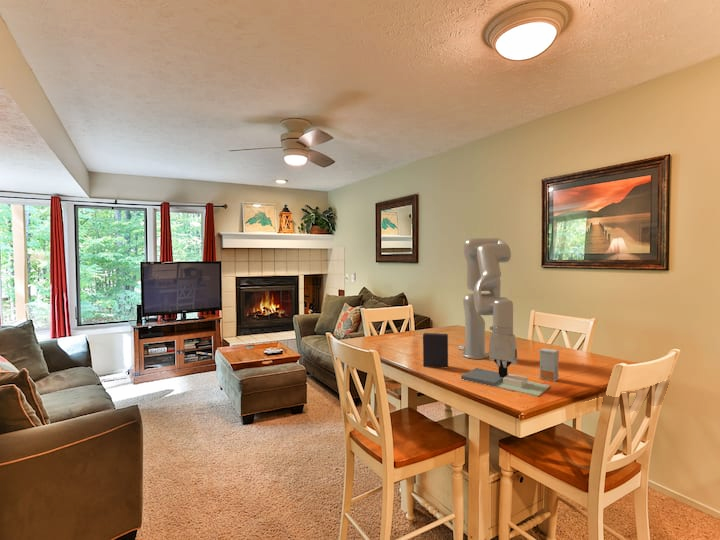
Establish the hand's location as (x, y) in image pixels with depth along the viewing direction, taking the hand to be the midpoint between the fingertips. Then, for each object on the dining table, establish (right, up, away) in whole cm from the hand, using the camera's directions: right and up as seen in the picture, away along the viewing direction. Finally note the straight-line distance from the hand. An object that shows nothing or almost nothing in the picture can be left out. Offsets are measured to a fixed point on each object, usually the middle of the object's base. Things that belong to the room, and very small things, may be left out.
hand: (503, 376), depth 153 cm
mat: (+6, -3, -5) cm, 8 cm away
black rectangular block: (-22, -2, +24) cm, 33 cm away
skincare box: (+20, -2, +4) cm, 21 cm away
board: (-5, -2, +5) cm, 8 cm away
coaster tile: (+4, -2, -3) cm, 5 cm away
